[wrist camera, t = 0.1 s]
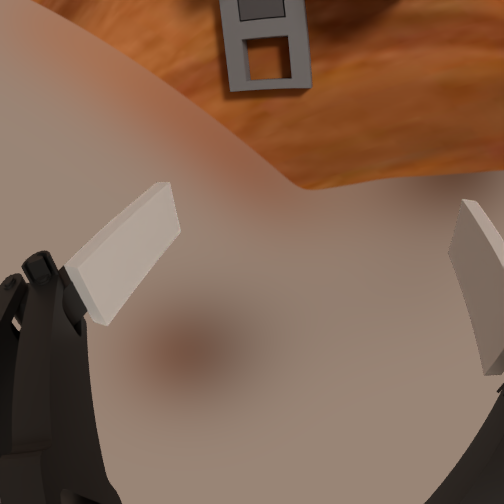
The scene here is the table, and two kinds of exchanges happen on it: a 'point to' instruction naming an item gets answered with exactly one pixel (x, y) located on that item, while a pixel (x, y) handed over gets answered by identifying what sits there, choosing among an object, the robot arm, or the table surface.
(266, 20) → the panel
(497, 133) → the table surface
